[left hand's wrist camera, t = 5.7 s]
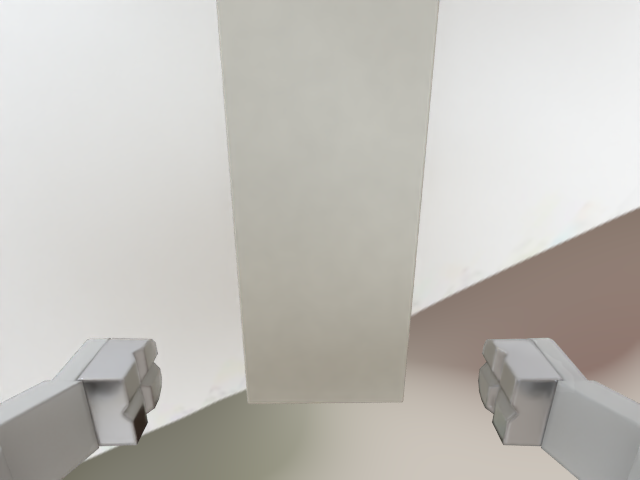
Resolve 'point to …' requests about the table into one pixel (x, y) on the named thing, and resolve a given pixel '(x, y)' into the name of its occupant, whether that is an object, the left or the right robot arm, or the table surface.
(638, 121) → the table surface
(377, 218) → the bar
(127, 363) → the left robot arm
